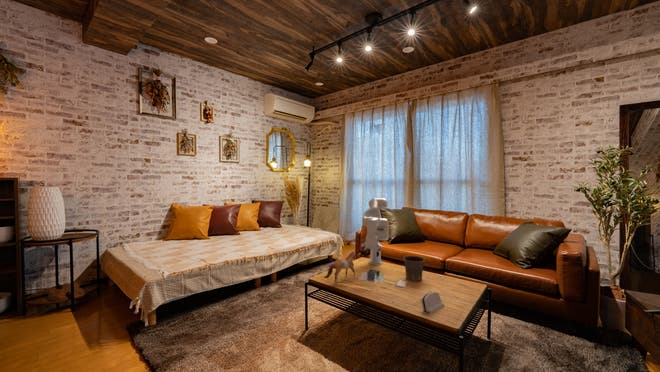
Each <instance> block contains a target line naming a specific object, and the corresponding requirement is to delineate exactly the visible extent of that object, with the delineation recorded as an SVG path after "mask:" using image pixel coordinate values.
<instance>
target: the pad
mask: <svg viewBox="0 0 660 372" xmlns="http://www.w3.org/2000/svg"><path fill="white" fill-rule="evenodd" d="M407 283H408V281H407V280H399V279H398V280H397V281H396V284H395V285H394V287H397V288H398V287H399V288H403V289H405V288H406V286H407Z"/></svg>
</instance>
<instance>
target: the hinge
mask: <svg viewBox="0 0 660 372" xmlns="http://www.w3.org/2000/svg"><path fill="white" fill-rule="evenodd" d="M420 301H421V307H422V311H423V312H428V313H429V314H430V315H432V314H433V313H436V312H437V311H438V310H441V309H443V308H444V307H445V303H443V301H442V299H441V297H440V294H439V292H436V291H430V292H427V293H425V294H424V295H423V296H422V297H421V298H420Z"/></svg>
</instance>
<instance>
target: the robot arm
mask: <svg viewBox="0 0 660 372" xmlns="http://www.w3.org/2000/svg"><path fill="white" fill-rule="evenodd" d="M388 204H389V203H388V201H387V199H386V198H383V197H373V198H372V199H370V200H368V207H369V209H367V210H366V211H364V213H363V215H362V220H361V222H362V223H361V224H362V226H364V227H366V236H365V241H364V242H363V243H361V244H360V245H361V247H362V249H363V252H364V253H363V254H364V256H367V255H368V254H367V253H368V250H367V249H369V250H370V260H369V261H368V264H369V265H373V266H381V265H382V264H383V261H382V259H381V257H382V256H381V255H382V254H381V252H382V250H383V249H382V248H383V247H384V246H383V245H381V242H380V241H388V240H389V238H390V237H389V235H390V234H389V231H390V229H389V225H390V223H389V219H387V218H384V217H381V216H382V215H381V211H380V210H386V209H388Z"/></svg>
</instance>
